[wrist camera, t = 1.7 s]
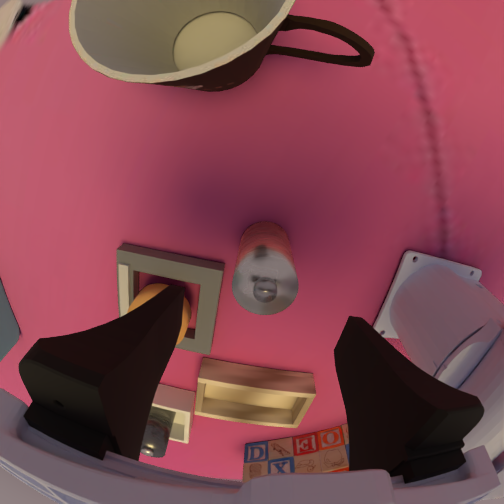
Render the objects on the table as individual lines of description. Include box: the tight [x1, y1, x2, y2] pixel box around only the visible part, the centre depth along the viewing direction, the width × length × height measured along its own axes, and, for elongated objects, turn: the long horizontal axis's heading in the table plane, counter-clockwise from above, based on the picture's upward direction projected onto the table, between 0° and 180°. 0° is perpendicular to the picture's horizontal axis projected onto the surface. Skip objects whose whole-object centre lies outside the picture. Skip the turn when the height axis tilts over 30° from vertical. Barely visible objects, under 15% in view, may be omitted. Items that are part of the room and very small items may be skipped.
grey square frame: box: [117, 243, 225, 355], centre depth 22 cm, size 8×8×2 cm
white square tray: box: [152, 384, 195, 443], centre depth 27 cm, size 7×7×3 cm
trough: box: [195, 357, 316, 428], centre depth 25 cm, size 10×6×3 cm, turn 79°
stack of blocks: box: [243, 423, 349, 482], centre depth 25 cm, size 21×6×12 cm, turn 109°
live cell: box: [232, 221, 298, 315], centre depth 17 cm, size 3×3×6 cm
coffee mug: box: [69, 0, 375, 92], centre depth 11 cm, size 12×9×10 cm
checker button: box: [127, 283, 191, 345], centre depth 20 cm, size 4×4×2 cm
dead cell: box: [140, 406, 176, 457], centre depth 25 cm, size 3×3×6 cm
